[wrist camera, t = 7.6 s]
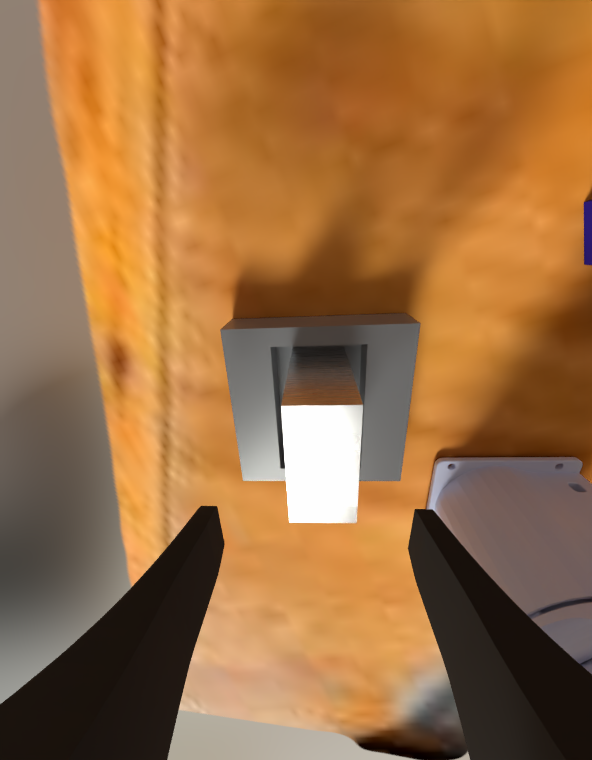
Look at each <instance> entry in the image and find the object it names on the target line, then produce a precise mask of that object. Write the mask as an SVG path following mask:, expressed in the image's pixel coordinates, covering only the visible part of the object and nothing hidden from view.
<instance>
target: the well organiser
mask: <svg viewBox="0 0 592 760" xmlns="http://www.w3.org/2000/svg"><path fill="white" fill-rule="evenodd" d="M419 330H420V323H419V322H418V321H416V320H415V319H414V318H412V317H411V316H409V315H408V314H406V313H391V314H362V315H333V316H304V317H275V318H246V319H232V320H231V321H229V322H228V323H227V324H226V325H225V326H224V327H223V328H222V329H221V330H220V331H221V338H222V344H223V351H224V357H225V364H226V371H227V377H228V384H229V390H230V397H231V403H232V410H233V417H234V423H235V430H236V436H237V443H238V450H239V456H240V463H241V469H242V476H243V481H286V467H285V453H284V439H283V426H282V412H281V404H282V399H283V394H284V389H285V383H286V378H287V373H288V368H289V363H290V358H291V353H292V348H300V347H339V346H344V348H345V351H346V354H347V357H348V360H349V363H350V366H351V369H352V372H353V375H354V378H355V381H356V384H357V388H358V391H359V394H360V397H361V400H362V403H363V416H362V434H361V452H360V469H359V481H400V479H401V472H402V464H403V456H404V448H405V440H406V432H407V425H408V417H409V409H410V401H411V393H412V385H413V377H414V370H415V362H416V354H417V346H418V338H419Z"/></svg>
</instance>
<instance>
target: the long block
mask: <svg viewBox="0 0 592 760" xmlns="http://www.w3.org/2000/svg"><path fill="white" fill-rule="evenodd" d="M281 412H282V426H283V439H284V453H285V467H286V481H287V495H288V509H289V522H309V523H356V522H357V505H358V487H359V469H360V452H361V434H362V416H363V403H362V400H361V397H360V394H359V391H358V388H357V384H356V381H355V378H354V375H353V372H352V369H351V366H350V363H349V360H348V357H347V354H346V351H345V348H344V346H339V347H300V348H292V353H291V358H290V363H289V368H288V373H287V378H286V383H285V389H284V394H283V399H282V404H281Z"/></svg>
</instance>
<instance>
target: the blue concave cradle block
mask: <svg viewBox="0 0 592 760" xmlns="http://www.w3.org/2000/svg"><path fill="white" fill-rule="evenodd" d="M584 265H592V200H589V201H586V202H584Z"/></svg>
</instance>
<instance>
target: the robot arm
mask: <svg viewBox="0 0 592 760" xmlns="http://www.w3.org/2000/svg"><path fill="white" fill-rule="evenodd" d="M449 464H452V465H451V466H448V465H449ZM582 466H583V463H582V461H580V460H579V459H578V458H576V457H465V458H439V459H437V460H436V461H435V464H434V470H433V475H432V481H431V486H430V491H429V497H428V502H427V508H426V509H415V512H414V517H413V523H412V529H411V535H410V540H409V546H408V550H409V555H410V559H411V563H412V568H413V572H414V576H415V580H416V583H417V586H418V589H419V592H420V595H421V598H422V600H423V603H424V606H425V609H426V612H427V615H428V618H429V621H430V623H431V626H432V629H433V632H434V635H435V638H436V641H437V644H438V646H439V649H440V652H441V655H442V658H443V661H444V664H445V667H446V670H447V674H448V677H449V680H450V684H451V688H452V691H453V695H454V699H455V702H456V706H457V710H458V714H459V717H460V721H461V725H462V729H463V733H464V737H465V741H466V745H467V749H468V752H469V756H470V760H592V484H591V483H590V482H589V481H588V480H587V479H585V478H584V477H583V476H582V475H581V474H580V470H581V468H582ZM223 549H224V539H223V534H222V529H221V524H220V518H219V513H218V508H217V506H201V507H200V508H199V509H198V510H197V511H196V512H195V514H194V515H193V516H192V517H191V519H190V520H189V521H188V523H187V524H186V525H185V526H184V528H183V529H182V530H181V531H180V533H179V534H178V535H177V536H176V538H175V539H174V540H173V541H172V542H171V544H170V545H169V546H168V547H167V548H166V549H165V551H164V552H163V553H162V554H161V555H160V557H159V558H158V559H157V560H156V561H155V562H154V564H153V565H152V566H151V567H150V568H149V569H148V570H147V571H146V572H145V573H144V575H143V576H142V577H141V578H140V579H139V580H138V581H137V582H136V583H135V584H134V586H133V587H132V588H131V589H130V590H129V591H128V592H127V593H126V594H125V595H124V596H123V597H122V598H121V599H120V600H119V601H118V602H117V603H116V604H115V605H114V606H113V607H112V608H111V609H110V610H109V611H108V612H107V613H106V614H105V615H104V616H103V617H102V618H101V619H100V620H99V621H98V622H97V623H95V624H94V625H93V626H92V627H91V628H90V629H89V630H88V631H87V632H86V633H85V634H84V635H82V636H81V637H80V638H79V639H78V640H77V641H76V642H75V643H74V644H73V645H71V646H70V647H69V648H68V649H67V650H66V651H65V652H63V653H62V654H61V655H60V656H59V657H58V658H56V659H55V660H54V661H53V662H52V663H50V664H49V665H48V666H47V667H46V668H44V669H43V670H42V671H41V672H40V673H39V674H37V675H36V676H35V677H33V678H32V679H31V680H30V681H29V682H27V683H26V684H25V685H24V686H23V687H21V688H20V689H19V690H18V691H17V692H16V693H14V694H13V695H12V696H10V697H9V698H8V699H6V700H5V701H4V702H3V703H1V704H0V760H167V758H168V753H169V749H170V744H171V740H172V736H173V731H174V726H175V723H176V718H177V714H178V709H179V705H180V701H181V697H182V693H183V689H184V685H185V681H186V677H187V672H188V668H189V665H190V661H191V658H192V654H193V651H194V648H195V644H196V641H197V638H198V635H199V632H200V629H201V626H202V623H203V620H204V617H205V614H206V611H207V608H208V604H209V601H210V598H211V595H212V592H213V589H214V586H215V583H216V579H217V576H218V572H219V568H220V563H221V559H222V554H223Z"/></svg>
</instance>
